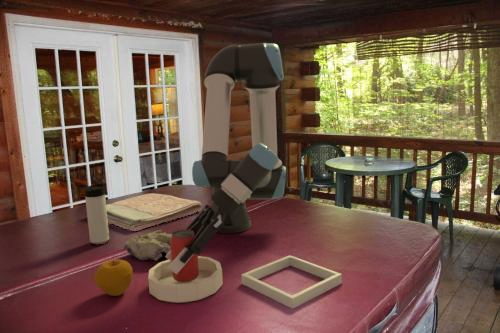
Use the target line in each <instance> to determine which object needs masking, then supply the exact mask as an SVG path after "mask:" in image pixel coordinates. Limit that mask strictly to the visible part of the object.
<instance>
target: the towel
mask: <svg viewBox="0 0 500 333" xmlns="http://www.w3.org/2000/svg"><path fill="white" fill-rule="evenodd" d="M106 209H107V219H108V222H109V223H113V224H116V225H118V226H120V227H123V228H127V229H130V230H134V231H135V230H137V229H143V228H146V227H150V226H153V225H155V224H159V223H162V222H166V221H169V220H172V219H175V218H178V217H181V216H185V215H188V214H192V213H195V212H197V211H198V212H199V211H200V212H201V211H202V210H203V204H202V203H201V202H200V201H198V200H191V199H186V198H180V197H177V196H173V195H171V194H161V193H153V192H152V193H145V194H142V195H138V196H133V197H129V198H127V199H123V200H122V199H121V200H118V201H115V202H112V203H109V204H106ZM198 212H197V213H198ZM195 214H196V213H195ZM166 223H167V222H166Z"/></svg>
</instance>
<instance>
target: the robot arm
mask: <svg viewBox="0 0 500 333" xmlns="http://www.w3.org/2000/svg"><path fill="white" fill-rule="evenodd" d="M281 55H282V54H281V50H280V47H279V45H278V44H276V43H272V42H271V43H268V42H260V43H248V44H230V45H228V46H225V47H224V48H222V49H220V50H219V51H218V52H217V53H216V54H215V55H214V56H213V57H212V59H211V60H210V62H209V63H208V65H207V68H206V70H205V73H204V82H203V83H204V86H205V88H206V96H205V108H204V109H205V111H204V122H203V123H204V124H203V134H202V135H203V136H202V138H203V139H202V149H201V159H199V160H195V161H194V162H193V165H192V166H191V167H192V169H191V171H192V172H191V173H192V174H191V175H192V176H191V178H192V181H193V183H194V185H195V186H197V187H198V188H201V187H202V188H203V187H204V188H212V194H211V195H210V200H211V201H212V202H213V203H212V204H211V205H208V204H206V205H205V206H204V207H203V208H202V209H201V210H200V212H199V213H198V215H196V217H195V218H194V219H193V220H192V221H191V222H190V223H189V224H188V226H186V228H185V229H188V230H192V231H194V235H195V237H194V238H193V239H192V241H191V242H190V244H189V245H185V248H184V249H183V250H182V251H181V252H180V253H179V255H178V256H177V257H176V258H175V259H174V260H173V262H172V258H171V250H170V252H169V253H168V254H167V253H166V255H165V258H166V260H170V261H171V262H172V263H171V264H170V265H169V266H168V268H169V269H170V270H171V271H173V272H174V273H175V274H177V273H178V272H179V271H180V270H181V269H182V268H183V266H184V265H185V264H186V263H187V262H188V261H189V259H190V258H191V257H192V256H193V255H194V254H197V255H198V256H199V255H200V254H201V253H202V251H203V250H204V248H205V247H206V246H207V245H208V244H209V242H210V241H211V240H212V238H213V237H214V236H215V235H216V234H217V233H220V234H235V233H241V232H245V231H247V230H249V229H250V228H251V227H252V223H251V222H252V221H251V218H250V215H249V212H248V209H247V207H246V200H277V199H282V198H283V196H284V193H285V186H286V175H287V167H286V166H285V165H283V161H282V160H281V159H279V156H278V137H277V134H278V133H277V130H278V129H277V108H276V106H277V105H276V104H277V103H276V102H277V101H276V91H277V90H278V88H279V87H280V83H281V82H282V81H283V80H284V79H285V77H284V76H285V75H284V68H283V61H282V56H281ZM280 81H281V82H280ZM237 82H238V83H243V84H244V89H246V90H247V91H248V94H249V107H250V109H249V111H250V112H249V113H250V125H251V127H250V128H251V144H252V145H251V146H252V148H251V149H249V150H248V152H247V154H246V155H245V156H244V157H243V158H242V159H228V158H229V140H230V139H229V138H230V121H231V99H232V98H231V97H232V91H233V89H234V88H235V86H236V85H235V83H237Z"/></svg>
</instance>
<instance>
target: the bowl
mask: <svg viewBox="0 0 500 333" xmlns="http://www.w3.org/2000/svg"><path fill="white" fill-rule="evenodd" d="M171 263H172V262H171V261H170V260H169V259H166V260H163V261H161V262H158V263H157V264H155V265H154V266H153V267H151V268H150V269H148V279H147V280H148V289H149V294H150V295H152V296H153V297H155V298H156V299H157V300H159V301H164V302H167V303H176V304H177V303H179V304H181V303H189V302H195V301H199V300H202V299H205V298H208V297H210V296H211V295H213V294H216V293H217V291H218V290H219V289H220V288H221V287H222V285H224V283H223V282H224V281H223V268H222V266H221V262H220V261H218V260H216V259H213V258H211V257H210V256H203V255H202V256H201V255H200V256H199V255H198V268H199V275H198V277H197V278H196V279H195V280H193V281H190V282H178V281H176V280H175V279H174V278H173V271H171V270H170V269H169V268H168V266H169V265H170V264H171Z"/></svg>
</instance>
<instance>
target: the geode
mask: <svg viewBox="0 0 500 333" xmlns="http://www.w3.org/2000/svg"><path fill="white" fill-rule="evenodd" d="M171 237H172V233H166V232H165V231H163V229H160V230H154V231H151V232H147V233H144V234H141V235H136V236H132V237H129V239H127V240H126V242H124V248H123V250H124V251H126V252H127V253H128V254H130V256H134V257H135V258H136V259H138V260H139V261H140V260H141V261H148V260H151V261H152V260H154V261H158V260H159V259H161V258H163V255H162V254H166V255H167V254H168V253H169V252H170V250H171V245H170V241H171Z"/></svg>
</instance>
